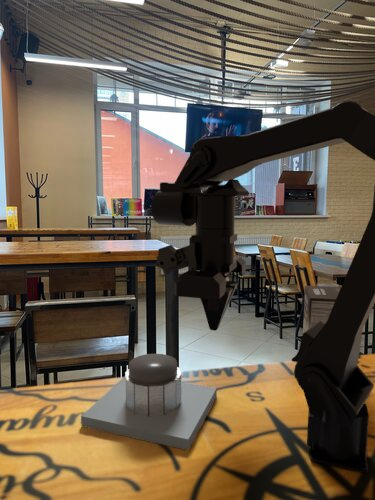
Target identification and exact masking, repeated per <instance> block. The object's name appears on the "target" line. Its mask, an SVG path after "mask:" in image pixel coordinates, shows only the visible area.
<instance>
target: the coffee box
mask: <svg viewBox="0 0 375 500" xmlns="http://www.w3.org/2000/svg"><path fill="white" fill-rule="evenodd" d="M340 289H341V286H327V285H326V286H324V285H305V286H304V295H303V296H304V299H303V321H302V323H303V324H302V326H303V328H302V334H303V333H304V332H306V331H307V330H308V329H310V328H311V327H312V326H314V325H315V324H316V323H318V322H319V321H321V322H322V323H324V324H325V323H326V322H327V320H328V317H329V315H330V312H331V310H332V308H333V305H334V303H335V301H336V298H337V296H338V293H339V291H340Z"/></svg>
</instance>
